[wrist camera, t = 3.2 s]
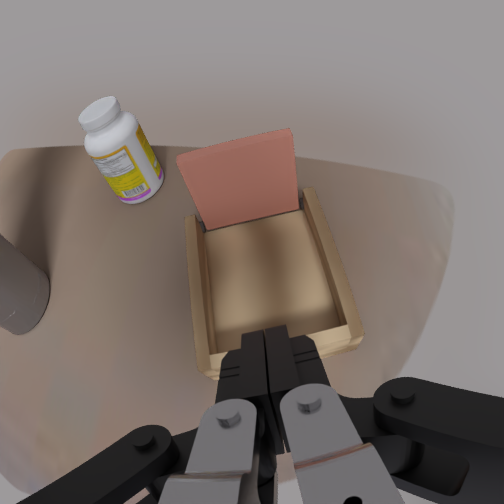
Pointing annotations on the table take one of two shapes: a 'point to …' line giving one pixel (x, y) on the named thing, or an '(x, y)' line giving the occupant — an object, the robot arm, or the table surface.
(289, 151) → the panel
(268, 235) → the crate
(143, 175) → the supplement bottle
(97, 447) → the table surface
